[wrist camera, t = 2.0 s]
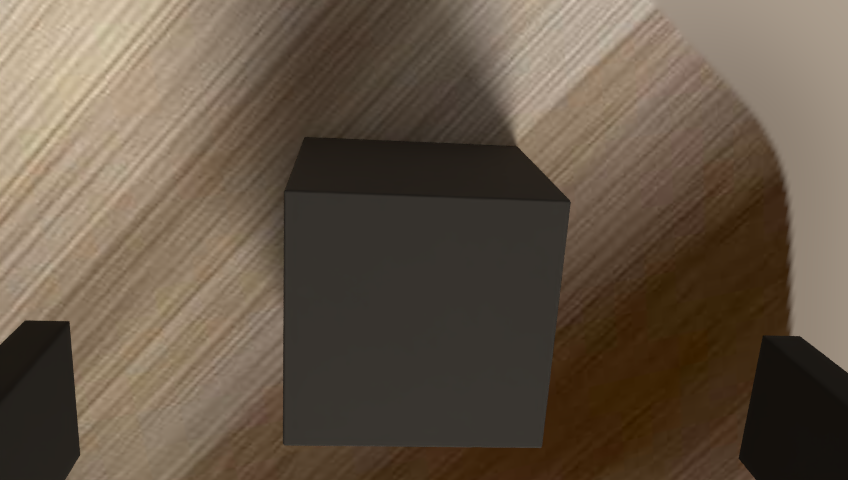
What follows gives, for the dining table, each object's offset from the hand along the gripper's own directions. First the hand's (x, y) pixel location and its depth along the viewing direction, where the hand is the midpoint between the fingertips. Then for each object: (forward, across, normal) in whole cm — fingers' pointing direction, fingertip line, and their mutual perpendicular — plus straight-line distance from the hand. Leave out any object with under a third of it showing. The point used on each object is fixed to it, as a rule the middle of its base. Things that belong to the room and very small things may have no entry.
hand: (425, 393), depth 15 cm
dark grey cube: (+8, 0, 0) cm, 9 cm away
